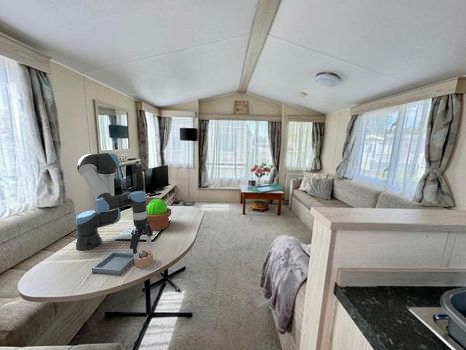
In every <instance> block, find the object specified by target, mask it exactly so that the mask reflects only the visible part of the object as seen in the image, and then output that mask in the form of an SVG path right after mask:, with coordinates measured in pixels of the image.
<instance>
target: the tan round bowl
mask: <svg viewBox="0 0 466 350" xmlns="http://www.w3.org/2000/svg"><path fill="white" fill-rule="evenodd" d="M145 251H146V257H144V258H141V256H140V252H141V251H139V259H136V258H134V262H133V264H134V267H135V268H138V267H140V268H139V269H141V268H142V269H143V268H146V266H147V267H148V266H149V267H150V265H151V264H152V263H153V261H154V259H153V252H152V251H151V250H145Z"/></svg>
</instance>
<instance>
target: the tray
mask: <svg viewBox="0 0 466 350" xmlns="http://www.w3.org/2000/svg"><path fill="white" fill-rule="evenodd" d="M132 264H134V254H133V252H132V253H131V252H122V251H121V252H119V251H112V252H110V253H109V254H108V255H107V256H106V257H104V258H103V259H101V260H100V261H99V262H98V263H96V264H94V265H93V266H92V267H91V273H92V274H107V275H117V276H118V275H119V276H121V275H122V274H123V273H124V272H125V271H127V269H128V268H129V267H130V266H131V265H132Z"/></svg>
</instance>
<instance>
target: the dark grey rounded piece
mask: <svg viewBox="0 0 466 350" xmlns="http://www.w3.org/2000/svg"><path fill="white" fill-rule="evenodd" d="M146 251H147V250H141V251H139V252H140V256H141V258H144V257H146ZM146 267H148V266H146ZM146 267H145V268H146ZM137 268H139V269H141V268H140V267H137Z"/></svg>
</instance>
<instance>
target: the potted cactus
mask: <svg viewBox="0 0 466 350" xmlns="http://www.w3.org/2000/svg"><path fill="white" fill-rule="evenodd" d="M146 206H147V219H148V222H149V224H150V227H151V229H152V231H154V230H157V231H160V230H159V229H162V230H165V229H166V228H168V227H169V226H170V221H169V220H170V218H169V217H171V215H172V209H171V208H170V207H168V206H167V202H166V201H164V200H163V199H161V198H160V197H159V198H155V199H152V200H150V201H149V203H148V204H147V205H146Z"/></svg>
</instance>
